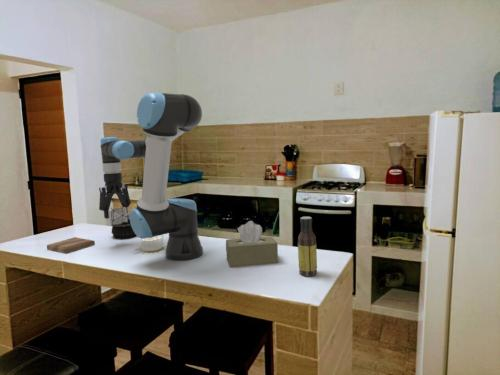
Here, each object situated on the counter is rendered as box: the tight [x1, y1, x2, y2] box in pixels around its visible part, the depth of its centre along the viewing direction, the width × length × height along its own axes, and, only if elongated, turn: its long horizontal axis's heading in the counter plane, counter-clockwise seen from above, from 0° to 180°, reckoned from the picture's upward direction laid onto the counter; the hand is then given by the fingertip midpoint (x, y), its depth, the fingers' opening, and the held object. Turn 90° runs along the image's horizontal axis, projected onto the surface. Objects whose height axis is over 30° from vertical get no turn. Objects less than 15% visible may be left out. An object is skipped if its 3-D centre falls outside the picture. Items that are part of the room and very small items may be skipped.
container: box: [111, 213, 138, 240], centre depth 185 cm, size 13×13×10 cm
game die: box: [110, 206, 128, 225], centre depth 167 cm, size 9×8×10 cm
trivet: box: [46, 236, 96, 254], centre depth 169 cm, size 14×14×2 cm
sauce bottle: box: [297, 215, 318, 278], centre depth 128 cm, size 6×6×20 cm
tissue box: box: [225, 220, 279, 268], centre depth 143 cm, size 19×10×16 cm, turn 100°
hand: (117, 223), depth 167 cm, fingers closed on game die, 8 cm apart
